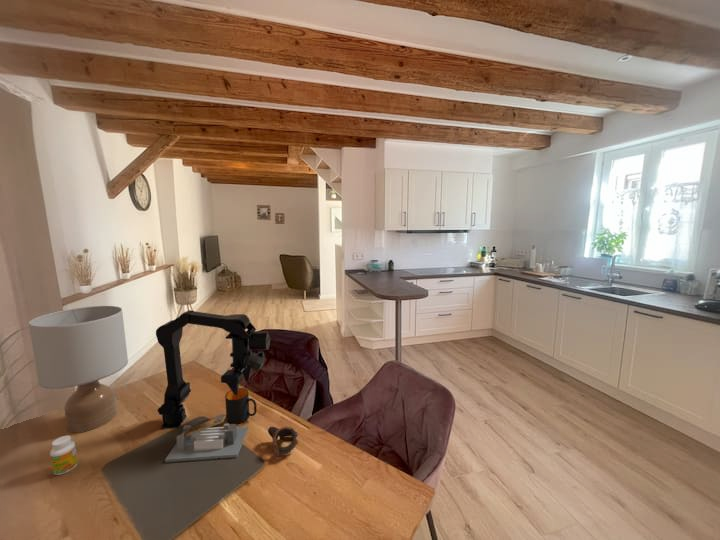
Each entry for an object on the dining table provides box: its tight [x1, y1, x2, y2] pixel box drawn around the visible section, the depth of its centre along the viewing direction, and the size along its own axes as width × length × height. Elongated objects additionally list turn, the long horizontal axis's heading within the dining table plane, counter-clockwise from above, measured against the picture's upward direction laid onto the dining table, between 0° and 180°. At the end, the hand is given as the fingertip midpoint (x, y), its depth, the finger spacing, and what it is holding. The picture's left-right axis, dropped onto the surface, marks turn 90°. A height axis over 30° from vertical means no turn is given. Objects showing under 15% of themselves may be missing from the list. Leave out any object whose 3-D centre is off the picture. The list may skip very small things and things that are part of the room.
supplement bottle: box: [49, 435, 79, 476], centre depth 88 cm, size 5×5×10 cm
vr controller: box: [267, 426, 299, 457], centre depth 98 cm, size 12×10×8 cm
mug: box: [224, 387, 258, 426], centre depth 112 cm, size 8×12×10 cm
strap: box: [180, 413, 226, 437], centre depth 98 cm, size 15×3×2 cm, turn 96°
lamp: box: [28, 305, 129, 433], centre depth 107 cm, size 24×24×42 cm
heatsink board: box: [164, 423, 249, 463], centre depth 98 cm, size 22×13×6 cm, turn 96°
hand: (241, 387), depth 109 cm, fingers open, 9 cm apart
